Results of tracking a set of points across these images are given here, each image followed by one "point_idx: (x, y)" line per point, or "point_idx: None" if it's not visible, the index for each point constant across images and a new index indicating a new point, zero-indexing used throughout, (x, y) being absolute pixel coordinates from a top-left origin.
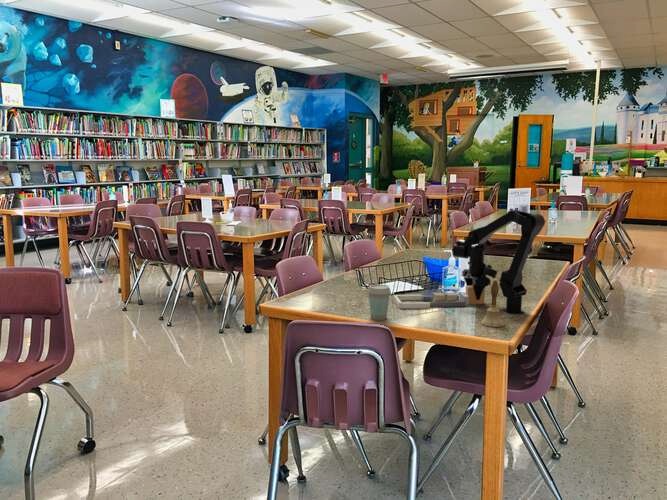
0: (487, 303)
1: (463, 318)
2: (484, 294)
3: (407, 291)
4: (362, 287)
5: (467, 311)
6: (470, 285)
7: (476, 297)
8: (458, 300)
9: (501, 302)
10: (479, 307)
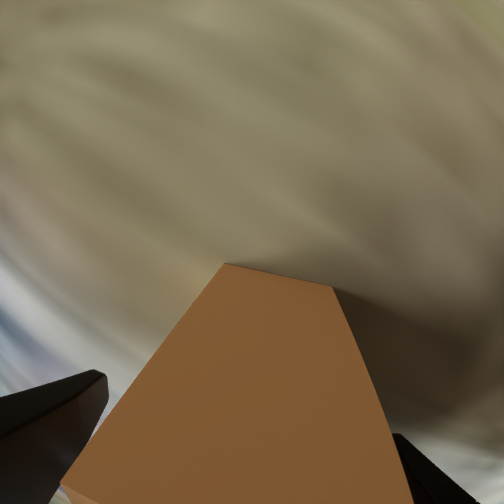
0: (334, 229)
1: (497, 497)
2: (364, 366)
3: None
4: None
5: None
6: (24, 494)
7: None
8: None
9: (326, 11)
10: (437, 405)
